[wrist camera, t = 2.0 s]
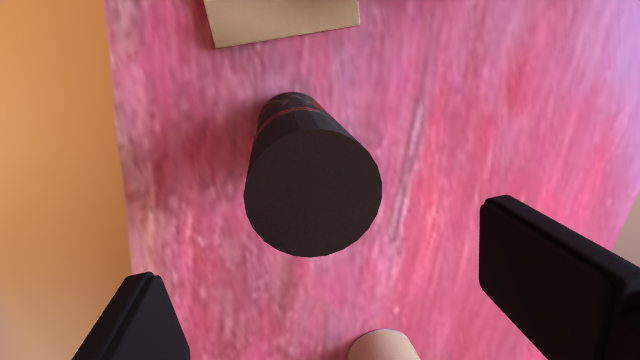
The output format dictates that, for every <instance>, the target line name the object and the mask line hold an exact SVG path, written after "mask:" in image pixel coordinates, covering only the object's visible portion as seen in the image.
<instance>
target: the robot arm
mask: <svg viewBox="0 0 640 360" xmlns="http://www.w3.org/2000/svg"><path fill="white" fill-rule="evenodd" d="M479 283H480V286H481V288H482V289H483V291H484V292H485V293H486V294H487V295H488V296H489V297H490V299H491V300H492V301H493V302H494V303H495V304H496V305H497V306H498V307H499V308H500V309H501V310H502V311H503V312H504V313H505V314H506V316H507V317H508V318H509V319H510V320H511V321H512V322H513V323H514V324H515V325H516V326H517V327H518V328H519V329H520V330H521V332H522V333H523V334H524V335H525V336H526V337H527V338H528V339H529V340H530V341H531V342H532V343H533V344H534V345H535V346H536V348H537V349H538V350H539V351H540V352H541V353H542V354H543V355H544V356H545V357H546V358H547V359H548V360H640V267H638V266H636V265H634V264H632V263H631V262H629V261H627V260H625V259H623V258H622V257H620V256H618V255H616V254H614V253H613V252H611V251H609V250H607V249H605V248H604V247H602V246H600V245H598V244H596V243H595V242H593V241H591V240H589V239H587V238H585V237H584V236H582V235H580V234H578V233H576V232H575V231H573V230H571V229H569V228H567V227H566V226H564V225H562V224H560V223H558V222H557V221H555V220H553V219H551V218H549V217H548V216H546V215H544V214H542V213H540V212H539V211H537V210H535V209H533V208H531V207H530V206H528V205H526V204H524V203H522V202H520V201H519V200H517V199H515V198H513V197H511V196H509V195H502V196H497V197H493V198H488V199H486V200H485V202H484V204H483V205H482V206H481V207H480V233H479ZM72 360H190V349H189V346H188V343H187V341H186V338H185V336H184V333H183V331H182V328H181V326H180V323H179V321H178V318H177V316H176V313H175V311H174V308H173V306H172V303H171V301H170V298H169V296H168V293H167V291H166V288H165V286H164V283H163V281H162V279H161V277H160V276H159V275H156V276H154V274H153V273H152V272H145V273H141V274H136V275H131V276H128V277H126V278H125V279H124V281H123V282H122V284H121V286H120V287H119V289H118V290H117V292H116V293H115V295H114V296H113V298H112V299H111V301H110V302H109V304H108V305H107V307H106V308H105V310H104V311H103V313H102V314H101V316H100V317H99V319H98V320H97V322H96V323H95V325H94V326H93V328H92V329H91V331H90V332H89V334H88V336H87V337H86V339H85V340H84V342H83V343H82V345H81V346H80V348H79V349H78V351H77V352H76V354H75V356H74V357H73V358H72Z"/></svg>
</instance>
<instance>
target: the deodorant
mask: <svg viewBox="0 0 640 360" xmlns="http://www.w3.org/2000/svg"><path fill="white" fill-rule="evenodd" d="M381 199H382V181H381V177H380V174H379V170H378V166H377V165H376V163H375V161H374V160H373V158H372V157H371V155H370V153H369V152H368V151H367V150H366V149H365V148H364V147H363V146H362V145H361V144H360V143H359V142H358V141H357V140H356V139H355V138H354V137H353V136H352V135H350V134H349V133H348V132H347V131H346V130H345V129H344V128H343V127H342V126H341V125H340V124H339V123H338V122H337V121H336V120H335V119H334V118H333V117H332V116H331V115H330V114H329V113H327V112H326V111H325V110H324V109H323V108H322V107H321V106H320V105H319V104H318V103H317V102H316V101H315V100H314V99H312V98H311V97H309V96H307V95H305V94H301V93H297V92H288V93H283V94H280V95H277V96H275V97H274V98H272V99H271V100H269V101H268V102H267V103H266V104H265V106H264V107H263V108H262V110H261V112H260V114H259V117H258V121H257V126H256V131H255V136H254V141H253V147H252V152H251V157H250V162H249V167H248V172H247V177H246V184H245V190H244V203H245V210H246V214H247V216H248V219H249V221H250V223H251V225H252V227H253V229H254V230H255V231H256V232H257V234H258V235H259V236H260V237H261V238H262V239H263V240H264V241H265V242H266V243H268V244H269V245H271V246H272V247H274V248H275V249H277V250H279V251H282V252H284V253H287V254H290V255H293V256H301V257H318V256H326V255H329V254H332V253H335V252H338V251H340V250H343V249H345V248H346V247H348V246H349V245H351V244H352V243H354V242H355V241H357V240H358V239H359V238H360V237H361V236H362V235H363V234H364V233H365V232H366V231H367V230H368V229H369V227H370V225H371V224H372V222H373V220H374V219H375V217H376V215H377V213H378V209H379V206H380V203H381Z"/></svg>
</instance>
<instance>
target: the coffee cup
mask: <svg viewBox="0 0 640 360" xmlns="http://www.w3.org/2000/svg"><path fill="white" fill-rule="evenodd" d="M347 360H421V359H420V358H419V356H418V354H417V353H416V351H415V349H414V348H413V346H412V344H411V343H410V341H409V340H408V338H407V337H406V336H405V335H404V334H402V333H401V332H399V331H396V330H392V329H378V330H374V331H371V332H369V333H366V334H365V335H363V336H361V337H360V338H359V339H358V340H356V341H355V343H354V344H353V345H352V346H351V348H350V350H349V353H348V358H347Z"/></svg>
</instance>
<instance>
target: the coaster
mask: <svg viewBox="0 0 640 360" xmlns="http://www.w3.org/2000/svg"><path fill="white" fill-rule="evenodd" d="M203 2H204V6H205V10H206V14H207V18H208V21H209V25H210V29H211V33H212V37H213V41H214V45H215V48H217V49H220V48H226V47H232V46H238V45H244V44H250V43H256V42H262V41H268V40H274V39H281V38H287V37H293V36H299V35H305V34H311V33H317V32H323V31H329V30H335V29H341V28H347V27H353V26H358V25H360V15H359V5H358V0H203Z"/></svg>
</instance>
